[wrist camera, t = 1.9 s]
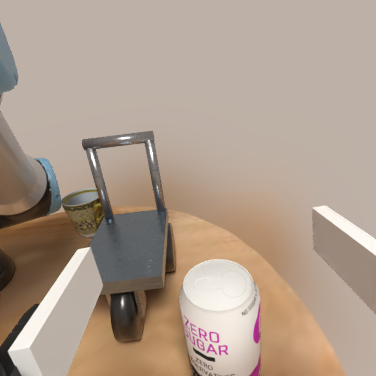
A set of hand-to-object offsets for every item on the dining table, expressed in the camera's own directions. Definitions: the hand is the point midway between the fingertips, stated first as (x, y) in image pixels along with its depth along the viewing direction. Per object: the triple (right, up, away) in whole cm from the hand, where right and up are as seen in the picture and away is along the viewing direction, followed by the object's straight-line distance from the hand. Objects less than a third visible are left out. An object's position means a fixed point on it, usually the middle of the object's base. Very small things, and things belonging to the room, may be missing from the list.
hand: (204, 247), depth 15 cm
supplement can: (+4, -20, +17) cm, 26 cm away
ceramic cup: (-24, -8, +52) cm, 58 cm away
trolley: (-9, -15, +30) cm, 35 cm away
